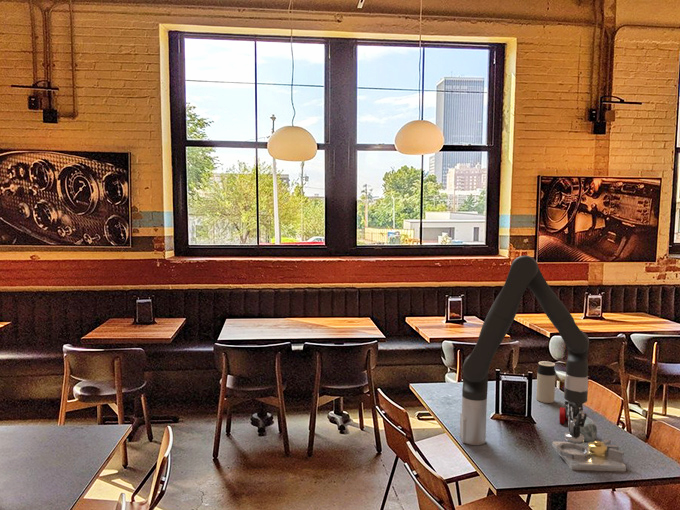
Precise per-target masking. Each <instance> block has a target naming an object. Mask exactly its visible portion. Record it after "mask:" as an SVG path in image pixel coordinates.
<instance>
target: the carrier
mask: <svg viewBox="0 0 680 510" xmlns="http://www.w3.org/2000/svg"><path fill="white" fill-rule="evenodd" d="M611 443H612V440H611V439H608V438H605V439H603V440H601V441H600V440H594V441H593V442H586V441H584V443H582V444H574V443H570V442H568V441H552V446H551V447H552V448H553V449H554V451H556V453H557V454H558V455H559V456H560V457H561V459H562V460H563V461H564V462H565V464H567V466H568V467H569V469H571V471H595V472H596V471H597V472H598V471H601V472H624V473H625V472H627V471H626V468H627V466H626V465H625V463H623V462H624V457H625V456H624V454H625V452H624V451H622V450H619V449H620V446H619V445H618V444H611Z"/></svg>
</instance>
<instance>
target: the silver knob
mask: <svg viewBox="0 0 680 510" xmlns="http://www.w3.org/2000/svg"><path fill="white" fill-rule="evenodd" d="M563 437H564V441H565V442H570V443H574V444H582V443H584V442H585V441H584V435H582V434H580V437H574V436H573V419H572V420H570V432H569V431H566V432H564V436H563Z"/></svg>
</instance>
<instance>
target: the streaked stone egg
mask: <svg viewBox="0 0 680 510" xmlns="http://www.w3.org/2000/svg"><path fill="white" fill-rule="evenodd" d="M567 423H568V425H567V426H568V428H569V421H567ZM580 434H582V435H584V442H585V443H589V442H594V441H596V439H597V434H598V428H597V425H596V423H595V422H594V420H592V418H590V417H588V416H587V417H586V420H585V424H584V427H580Z"/></svg>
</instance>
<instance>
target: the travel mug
mask: <svg viewBox="0 0 680 510" xmlns="http://www.w3.org/2000/svg"><path fill="white" fill-rule="evenodd" d="M555 366H556V364H555V363H554V362H552V361H545V360H544V361H543V360H542V361H539V362H538V368H537V372H536V373H537V374H536V376H537V377H536V392H535V393H536V395H535V399H536V401H538V402H541V403H544V404H552V403H555V394H556V393H555V392H556V373H557V371H556V369H555Z"/></svg>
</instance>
